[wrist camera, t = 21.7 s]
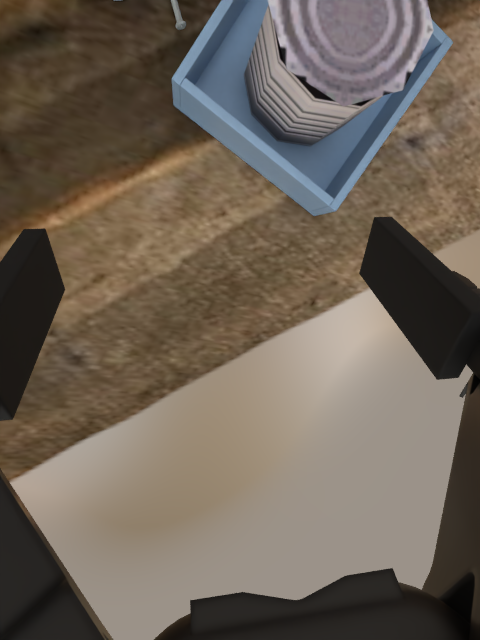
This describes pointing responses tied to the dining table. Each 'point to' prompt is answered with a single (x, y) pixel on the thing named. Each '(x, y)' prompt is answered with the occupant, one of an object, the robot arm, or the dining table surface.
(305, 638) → the robot arm
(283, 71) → the can
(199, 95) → the tote
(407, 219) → the dining table surface
